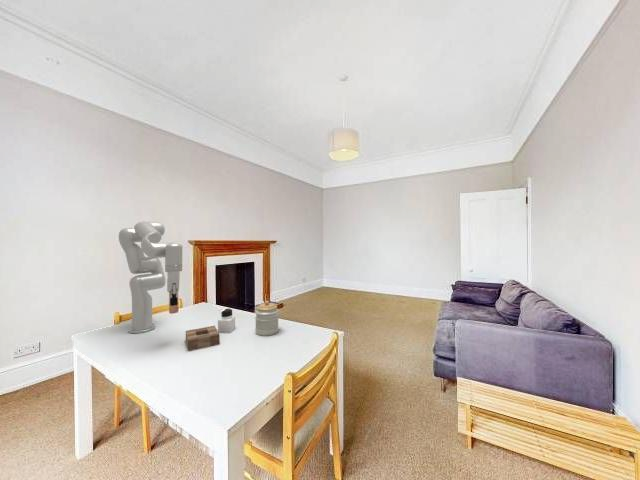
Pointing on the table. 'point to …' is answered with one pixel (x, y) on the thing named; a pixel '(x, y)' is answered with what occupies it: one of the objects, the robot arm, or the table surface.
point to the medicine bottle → (226, 321)
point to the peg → (172, 308)
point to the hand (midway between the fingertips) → (173, 303)
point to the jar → (266, 319)
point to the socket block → (202, 338)
